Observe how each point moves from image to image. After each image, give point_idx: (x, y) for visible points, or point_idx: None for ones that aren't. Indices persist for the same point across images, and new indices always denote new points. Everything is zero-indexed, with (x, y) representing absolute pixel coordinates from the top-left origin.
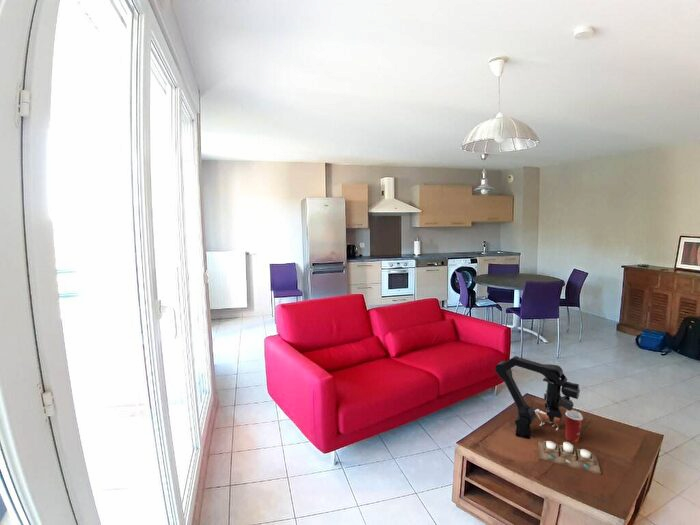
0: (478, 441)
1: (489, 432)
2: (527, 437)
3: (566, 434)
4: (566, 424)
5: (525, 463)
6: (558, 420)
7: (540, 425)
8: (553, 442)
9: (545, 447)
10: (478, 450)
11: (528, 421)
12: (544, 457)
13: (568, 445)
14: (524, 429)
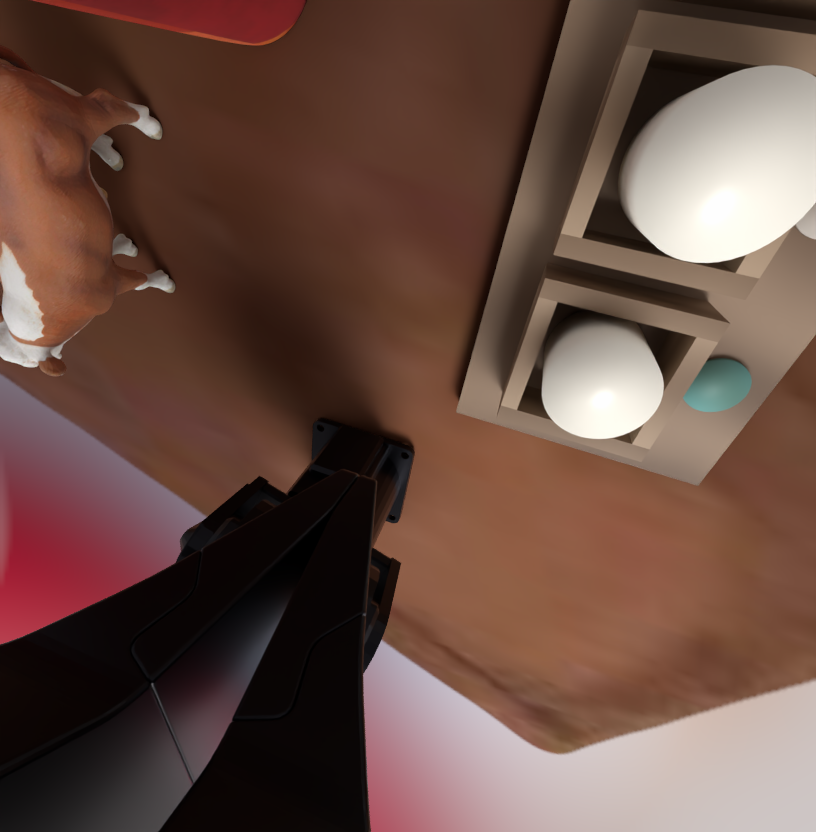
0: (510, 697)
1: (405, 626)
2: (403, 461)
3: (239, 35)
4: (108, 6)
5: (755, 587)
6: (33, 106)
7: (171, 286)
8: (572, 353)
9: (633, 445)
10: (597, 728)
11: (382, 635)
12: (715, 450)
13: (761, 179)
14: (377, 526)
